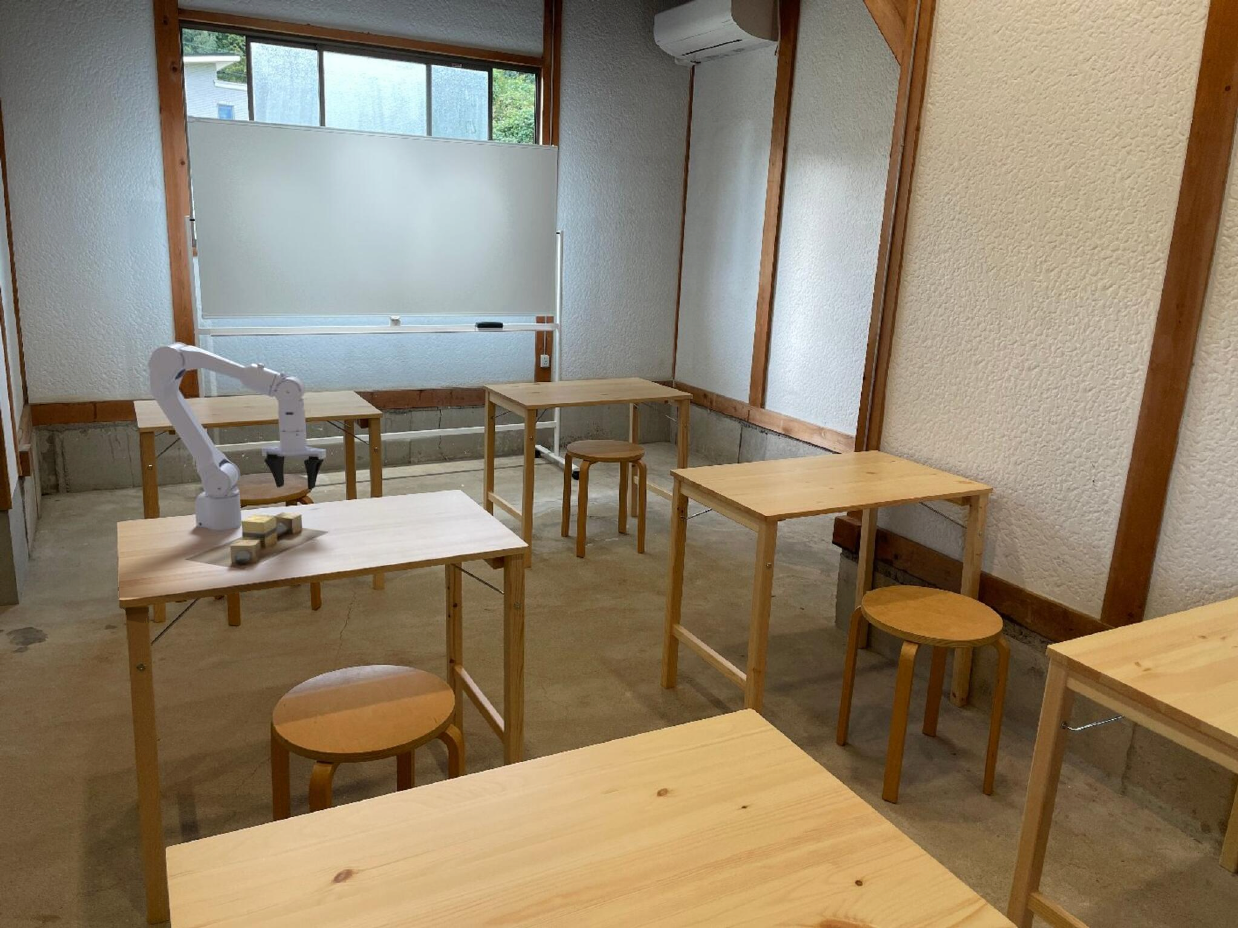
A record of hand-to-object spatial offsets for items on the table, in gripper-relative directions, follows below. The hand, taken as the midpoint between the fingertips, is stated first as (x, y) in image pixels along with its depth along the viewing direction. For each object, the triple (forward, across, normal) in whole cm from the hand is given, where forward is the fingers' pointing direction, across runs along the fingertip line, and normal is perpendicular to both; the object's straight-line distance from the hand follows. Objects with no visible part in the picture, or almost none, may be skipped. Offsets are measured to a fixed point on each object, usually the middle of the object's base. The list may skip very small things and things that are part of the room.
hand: (296, 487), depth 205 cm
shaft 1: (+9, +1, -25) cm, 26 cm away
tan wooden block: (+9, 0, -16) cm, 19 cm away
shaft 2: (+9, +1, -8) cm, 12 cm away
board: (+10, 0, -16) cm, 19 cm away
